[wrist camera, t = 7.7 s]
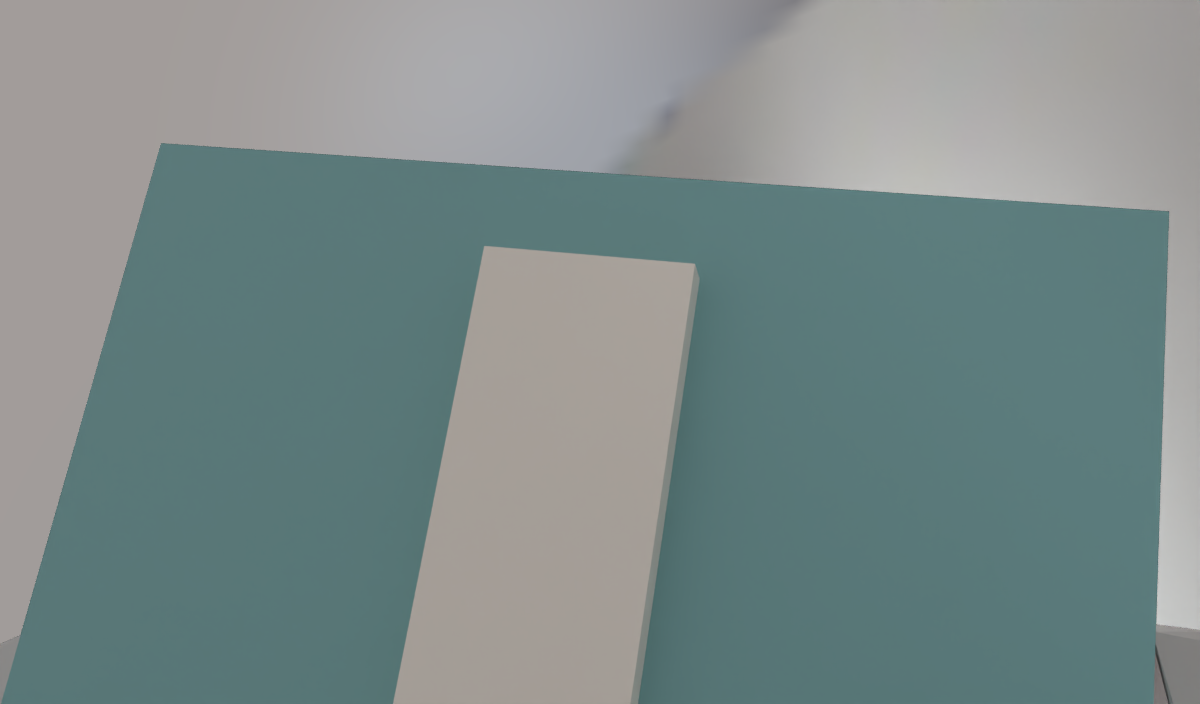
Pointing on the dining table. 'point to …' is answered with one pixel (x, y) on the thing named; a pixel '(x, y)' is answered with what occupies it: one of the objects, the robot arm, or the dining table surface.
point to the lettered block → (607, 445)
